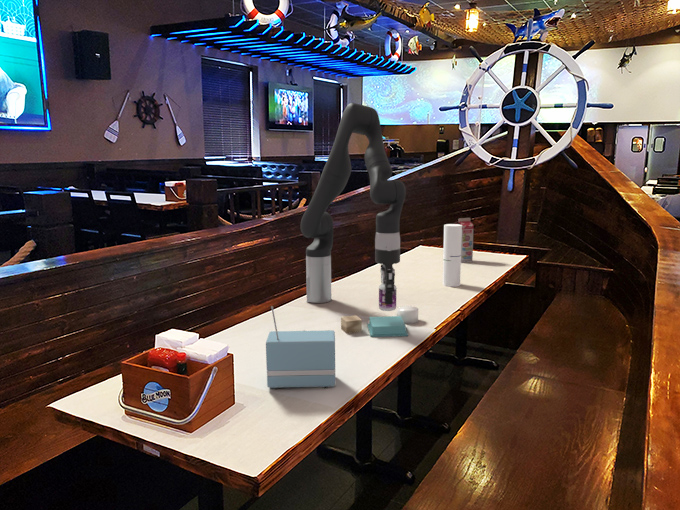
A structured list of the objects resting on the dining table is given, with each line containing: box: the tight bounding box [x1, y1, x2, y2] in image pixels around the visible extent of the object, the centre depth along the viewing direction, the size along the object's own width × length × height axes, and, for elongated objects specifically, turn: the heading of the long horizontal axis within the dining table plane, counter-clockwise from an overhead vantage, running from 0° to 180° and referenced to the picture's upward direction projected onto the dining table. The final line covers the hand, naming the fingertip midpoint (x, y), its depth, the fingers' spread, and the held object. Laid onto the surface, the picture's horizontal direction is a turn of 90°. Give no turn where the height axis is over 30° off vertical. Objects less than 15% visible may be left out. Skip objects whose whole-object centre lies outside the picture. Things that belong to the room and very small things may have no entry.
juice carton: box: [455, 217, 474, 264], centre depth 270 cm, size 7×7×22 cm
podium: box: [367, 315, 409, 338], centre depth 165 cm, size 11×11×3 cm
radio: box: [265, 305, 336, 390], centre depth 127 cm, size 16×9×20 cm, turn 91°
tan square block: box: [340, 315, 363, 335], centre depth 166 cm, size 5×5×4 cm
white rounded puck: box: [396, 305, 419, 325], centre depth 175 cm, size 7×7×4 cm
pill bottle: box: [378, 277, 398, 312], centre depth 164 cm, size 5×5×10 cm
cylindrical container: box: [442, 223, 462, 288], centre depth 221 cm, size 7×7×25 cm
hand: (387, 301), depth 164 cm, fingers closed on pill bottle, 5 cm apart
